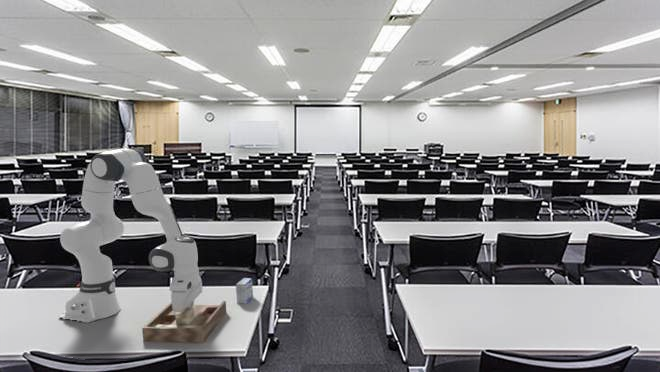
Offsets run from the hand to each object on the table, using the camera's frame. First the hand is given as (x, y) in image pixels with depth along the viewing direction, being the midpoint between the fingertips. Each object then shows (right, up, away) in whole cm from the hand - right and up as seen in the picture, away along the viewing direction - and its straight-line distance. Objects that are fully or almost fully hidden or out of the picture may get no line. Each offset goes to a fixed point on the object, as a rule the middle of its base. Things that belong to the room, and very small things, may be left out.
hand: (189, 313), depth 169 cm
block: (0, -2, -4) cm, 5 cm away
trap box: (0, -4, -1) cm, 4 cm away
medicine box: (+17, -1, +22) cm, 28 cm away
